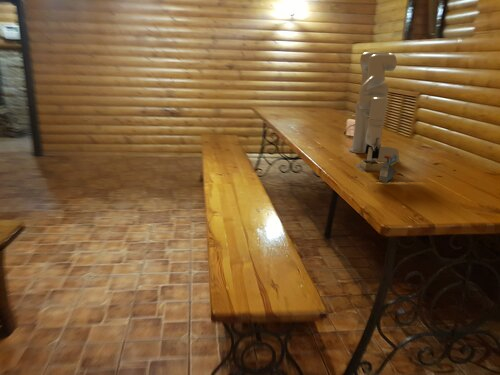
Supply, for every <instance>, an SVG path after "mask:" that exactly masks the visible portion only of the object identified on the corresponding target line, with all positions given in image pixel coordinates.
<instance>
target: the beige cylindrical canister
mask: <svg viewBox="0 0 500 375" xmlns="http://www.w3.org/2000/svg"><path fill="white" fill-rule="evenodd" d="M375 148H376V147H375ZM373 151H374V150H373V146H372V147H369V149H368V154H367V157H366V160H367V162H366V163H367V164H375V162H376V159H372V152H373Z"/></svg>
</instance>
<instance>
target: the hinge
mask: <svg viewBox="0 0 500 375" xmlns="http://www.w3.org/2000/svg"><path fill="white" fill-rule="evenodd" d="M385 155H389V156H393V157H394V156H396V155H397V159H396V163H401V160H400V155H399V150H398V149H397V148H395V147H392V146H391V147H390V146H380V151H379V156H378V159H376V161H377V162H387V158H384V156H385ZM393 160H394V159H393ZM393 160H392V161H393ZM389 162H390V159H389Z"/></svg>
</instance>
